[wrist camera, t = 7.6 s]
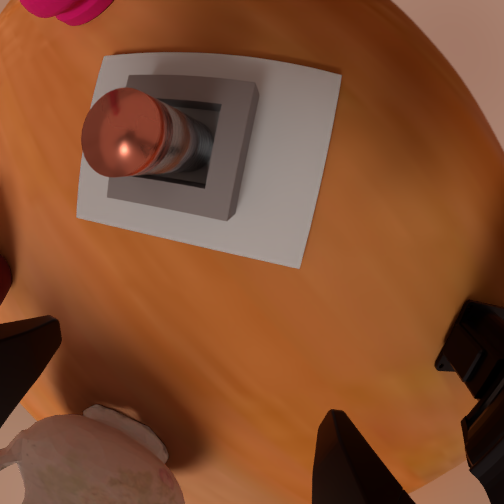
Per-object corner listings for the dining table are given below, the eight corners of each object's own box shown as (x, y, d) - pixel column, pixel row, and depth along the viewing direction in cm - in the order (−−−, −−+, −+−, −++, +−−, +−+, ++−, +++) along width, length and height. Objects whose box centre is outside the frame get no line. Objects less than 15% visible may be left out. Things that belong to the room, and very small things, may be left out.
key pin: (219, 123, 15) (166, 88, 8) (208, 176, 16) (148, 183, 9) (169, 117, 16) (91, 88, 8) (159, 167, 17) (76, 172, 9)
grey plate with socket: (338, 80, 15) (350, 60, 11) (298, 263, 18) (301, 284, 15) (111, 60, 16) (84, 46, 12) (84, 215, 19) (54, 224, 16)
